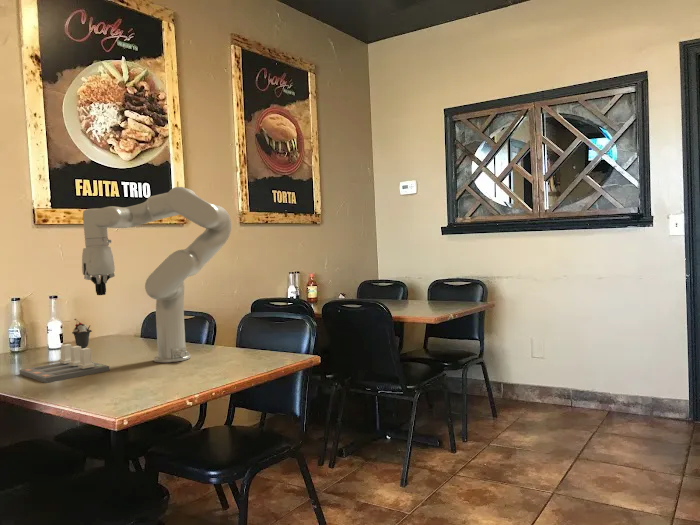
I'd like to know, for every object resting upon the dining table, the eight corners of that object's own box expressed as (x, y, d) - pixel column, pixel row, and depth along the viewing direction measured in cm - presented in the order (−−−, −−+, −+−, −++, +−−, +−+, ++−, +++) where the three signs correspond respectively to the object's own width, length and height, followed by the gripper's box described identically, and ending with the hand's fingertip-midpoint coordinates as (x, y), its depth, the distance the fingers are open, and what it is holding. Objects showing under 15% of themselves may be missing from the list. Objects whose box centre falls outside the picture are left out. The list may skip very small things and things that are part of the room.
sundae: (69, 359, 217) (66, 319, 217) (84, 355, 223) (82, 316, 223) (81, 360, 214) (78, 319, 214) (96, 356, 220) (94, 317, 220)
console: (109, 370, 193) (109, 365, 193) (45, 383, 179) (45, 377, 179) (80, 363, 208) (80, 358, 208) (19, 374, 193) (19, 369, 193)
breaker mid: (84, 364, 196) (83, 346, 196) (73, 366, 194) (72, 348, 193) (79, 362, 199) (78, 345, 199) (68, 364, 196) (67, 347, 196)
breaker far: (75, 361, 201) (74, 344, 201) (64, 363, 199) (63, 346, 198) (70, 360, 204) (69, 343, 204) (59, 362, 201) (58, 345, 201)
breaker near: (94, 366, 191) (93, 348, 191) (83, 368, 189) (82, 350, 188) (89, 365, 194) (88, 347, 194) (78, 367, 191) (77, 349, 191)
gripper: (111, 243, 216) (115, 292, 216) (70, 245, 204) (75, 297, 205) (122, 242, 211) (126, 292, 212) (81, 243, 200) (85, 297, 200)
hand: (101, 294), depth 208 cm, fingers closed
